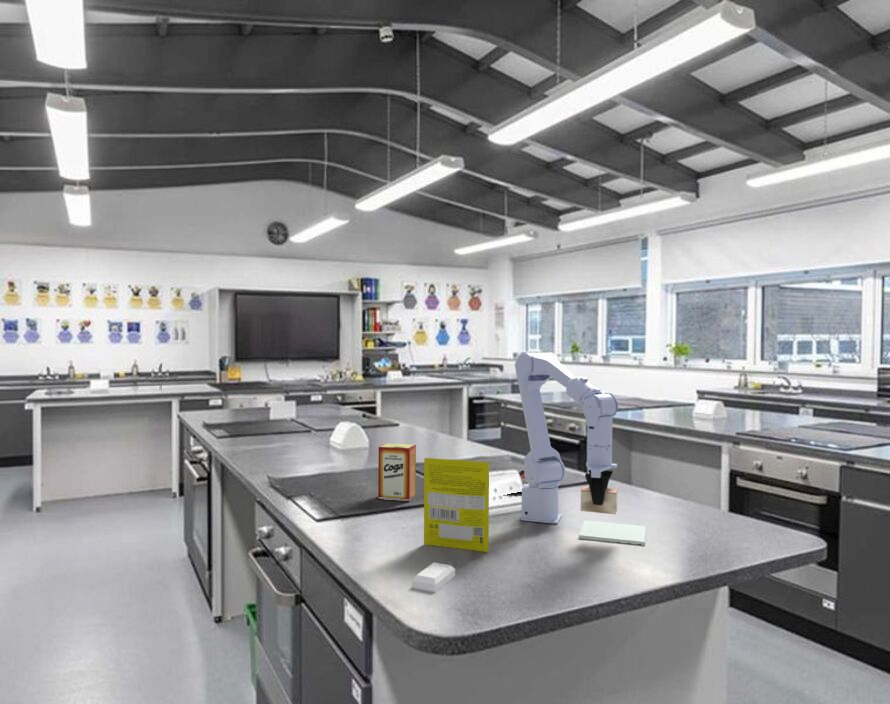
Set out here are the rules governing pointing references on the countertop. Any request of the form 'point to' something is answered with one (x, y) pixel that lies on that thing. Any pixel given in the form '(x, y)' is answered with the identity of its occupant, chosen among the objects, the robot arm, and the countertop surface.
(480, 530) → the food package
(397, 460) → the baking soda box
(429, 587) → the soap bar
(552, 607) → the countertop surface
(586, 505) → the maple block
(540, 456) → the robot arm
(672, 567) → the countertop surface
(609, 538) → the mat
